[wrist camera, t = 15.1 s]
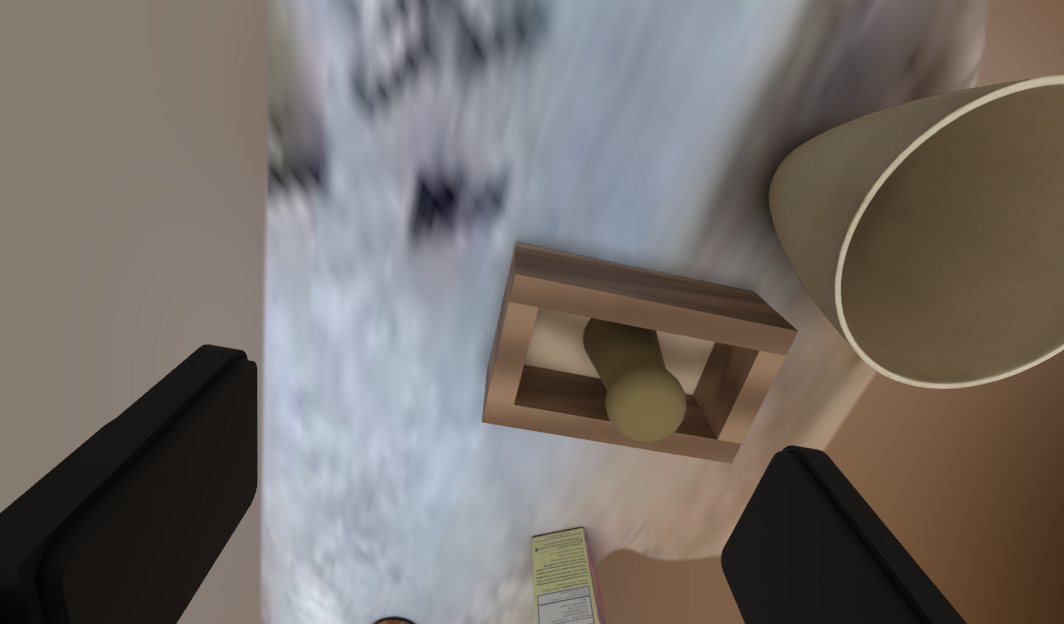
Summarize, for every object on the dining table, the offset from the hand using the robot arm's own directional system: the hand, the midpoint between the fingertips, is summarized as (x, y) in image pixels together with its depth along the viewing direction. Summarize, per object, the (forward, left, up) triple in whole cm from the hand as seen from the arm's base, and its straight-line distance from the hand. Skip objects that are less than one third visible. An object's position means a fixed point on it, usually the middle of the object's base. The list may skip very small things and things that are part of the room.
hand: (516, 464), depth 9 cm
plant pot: (-4, +22, -31) cm, 38 cm away
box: (+39, +14, -31) cm, 52 cm away
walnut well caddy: (+11, +11, -30) cm, 34 cm away
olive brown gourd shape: (+11, +11, -30) cm, 33 cm away
